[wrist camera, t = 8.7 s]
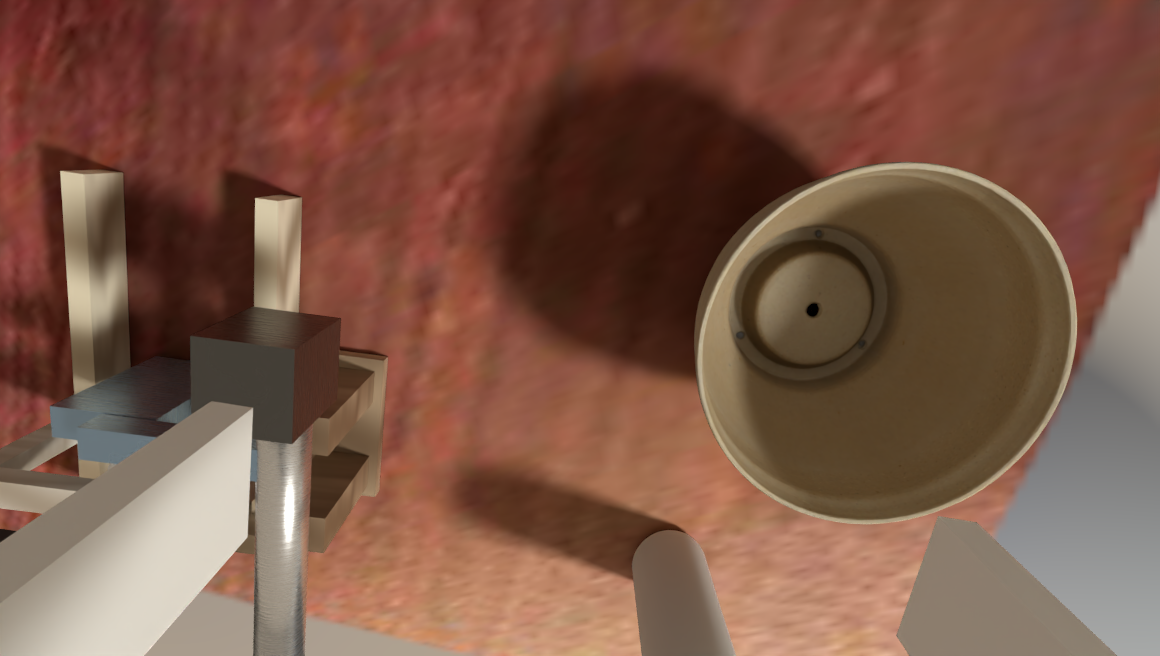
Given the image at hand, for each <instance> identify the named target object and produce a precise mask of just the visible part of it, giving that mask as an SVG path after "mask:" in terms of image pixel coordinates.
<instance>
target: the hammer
mask: <svg viewBox="0 0 1160 656" xmlns="http://www.w3.org/2000/svg"><path fill="white" fill-rule="evenodd" d="M340 328H341V318H335V317H328V316H320V315H313V314H305V313H298V312H290V311H283V310H276V309H268V308H261V307H251V308H249V309H247V310H245V311H243V312H240V313H238V314H236V315H234V316H232V317H230V318H227V319H225V320H223V321H221V322H219V323H217V324H214V325H212V326H210V327H208V328H206V329H204V330H201V331H199V332H197V333H195V334H193V335H191V336H190V361H189V360H182V359H174V358H166V357H159V356H155V357H153V358H151V359H148V360H146V361H144V362H142V363H140V364H138V365H136V366H134V367H131V368H129V369H127V370H125V371H123V372H121V373H119V374H117V375H115V376H112V377H110V378H108V379H106V380H104V381H102V382H100V383H98V384H96V385H93V386H91V387H89V388H87V389H85V390H83V391H81V392H79V393H77V394H74V395H72V396H70V397H68V398H66V399H64V400H62V401H60V402H57V403H55V404H53V405H51V406H50V415H51V429H52V437H57V438H64V439H72V440H77V442H78V458H79V460H87V461H95V462H103V463H111V464H118V463H120V462H121V461H123V460H124V459H126V458H127V457H129V456H130V455H132V454H133V453H135V452H136V451H138V450H139V449H141V448H142V447H144V446H145V445H147V444H148V443H150V442H151V441H153V440H154V439H156V438H157V437H159V436H160V435H162V434H163V433H165V432H166V431H168V430H169V429H171V428H172V427H173V426H175V425H176V424H178V423H179V422H181V421H182V420H184V419H185V418H187V417H188V416H190V415H191V414H193V413H194V412H196V411H197V410H199V409H200V408H202V407H203V406H205V405H206V404H208V403H209V402H211V401H214V402H220V403H227V404H233V405H239V406H245V407H252V408H253V422H252V445H251V468H250V481H254V482H256V483H255V561H254V639H253V640H254V641H253V643H254V644H253V656H305V628H306V601H307V574H308V547H309V519H310V492H311V465H312V438H313V423H314V422H315V421H316V420H317V419H318V418H319V417H320V416H321V415H322V414H323V413H324V412H325V411H326V410H327V409H328V408H329V407H330V406H331V405H332V404H333V403H334V402H335V401H336V400H337V393H338V371H339V349H340Z"/></svg>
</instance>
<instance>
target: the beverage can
mask: <svg viewBox="0 0 1160 656" xmlns="http://www.w3.org/2000/svg"><path fill="white" fill-rule="evenodd" d="M632 572H633V581H634V590H635V599H636V608H637V617H638V626H639V634H640V643H641V652H642V656H736V654H735V651H734V648H733V645H732V642H731V638H730V635H729V632H728V629H727V626H726V623H725V620H724V617H723V614H722V611H721V608H720V604H719V601H718V598H717V595H716V591H715V588H714V585H713V581H712V578H711V575H710V572H709V568H708V565H707V562H706V558H705V555H704V552H703V550H702V549H701V547H700V545H699V544H698V543H697V542H696V541H695V540H694V538H692V537H691V536H689V535H688V534H686V533H683V532H680V531H675V530H665V531H659V532H657V533H654V534H652V535H650V536H649V537H647V538H646V539H645V540H644V541H643V542H642V543H641V544H640V545H639V547H638V548H637V550H636V552H635V554H634V556H633V561H632Z"/></svg>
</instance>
